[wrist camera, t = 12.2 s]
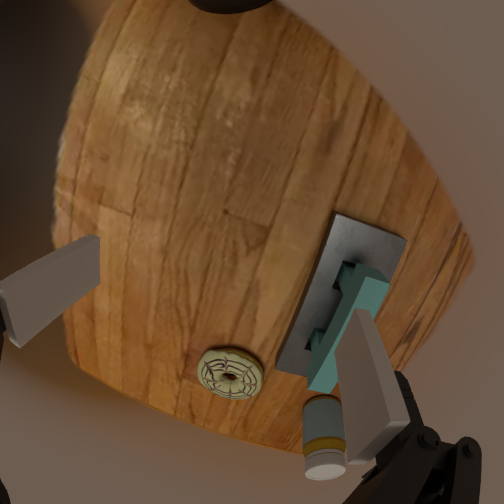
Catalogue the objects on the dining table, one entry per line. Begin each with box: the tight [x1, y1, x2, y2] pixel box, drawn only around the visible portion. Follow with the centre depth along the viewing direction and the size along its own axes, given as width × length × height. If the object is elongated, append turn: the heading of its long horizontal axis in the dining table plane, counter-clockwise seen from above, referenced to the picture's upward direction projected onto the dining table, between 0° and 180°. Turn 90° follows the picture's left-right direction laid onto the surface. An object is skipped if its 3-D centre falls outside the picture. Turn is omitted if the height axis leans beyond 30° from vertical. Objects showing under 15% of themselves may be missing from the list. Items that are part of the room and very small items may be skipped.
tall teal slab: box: [307, 260, 391, 394], centre depth 33 cm, size 16×3×10 cm, turn 164°
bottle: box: [303, 396, 346, 480], centre depth 37 cm, size 7×7×15 cm
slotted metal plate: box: [275, 210, 407, 377], centre depth 36 cm, size 24×10×3 cm, turn 164°
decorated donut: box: [197, 348, 263, 399], centre depth 42 cm, size 10×11×4 cm
